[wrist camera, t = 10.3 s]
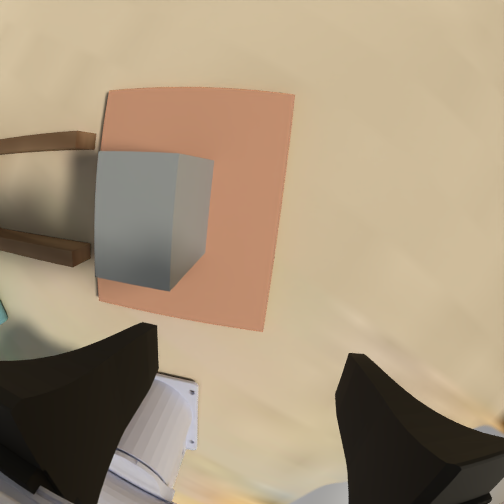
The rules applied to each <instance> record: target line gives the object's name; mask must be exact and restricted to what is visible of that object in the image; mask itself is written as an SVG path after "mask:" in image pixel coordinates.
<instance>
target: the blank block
mask: <svg viewBox="0 0 504 504" xmlns="http://www.w3.org/2000/svg"><path fill="white" fill-rule="evenodd" d="M213 168H214V160H209V159H204V158H200V157H195V156H190V155H185V154H179V153H161V152H134V151H99V152H98V162H97V175H96V191H95V221H94V248H95V277H98V278H103V279H107V280H112V281H117V282H122V283H127V284H132V285H137V286H142V287H147V288H153V289H158V290H164V291H169V292H170V291H171V290H172V288H173V287H174V286H175V285H176V284H177V283H178V282H179V281H180V280H181V279H182V277H183V276H184V275H185V274H186V273H187V272H188V271H189V270H190V269H191V268H192V267H193V265H194V264H195V263H196V262H197V261H198V260H199V259H200V258H201V257H202V256H203V255H204V254H205V249H206V238H207V226H208V216H209V206H210V196H211V186H212V177H213Z"/></svg>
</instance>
